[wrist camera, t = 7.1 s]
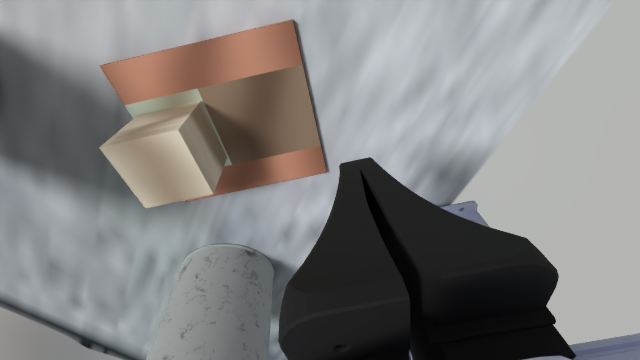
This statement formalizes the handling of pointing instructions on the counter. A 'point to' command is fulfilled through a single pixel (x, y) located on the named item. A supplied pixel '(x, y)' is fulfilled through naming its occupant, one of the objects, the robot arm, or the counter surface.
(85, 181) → the counter surface
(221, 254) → the grey marbled cylinder
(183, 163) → the birch block
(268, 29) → the board
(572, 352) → the robot arm
